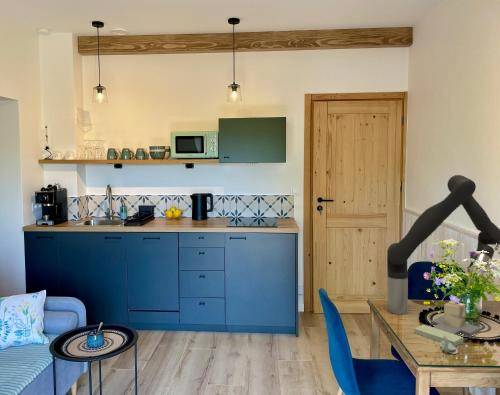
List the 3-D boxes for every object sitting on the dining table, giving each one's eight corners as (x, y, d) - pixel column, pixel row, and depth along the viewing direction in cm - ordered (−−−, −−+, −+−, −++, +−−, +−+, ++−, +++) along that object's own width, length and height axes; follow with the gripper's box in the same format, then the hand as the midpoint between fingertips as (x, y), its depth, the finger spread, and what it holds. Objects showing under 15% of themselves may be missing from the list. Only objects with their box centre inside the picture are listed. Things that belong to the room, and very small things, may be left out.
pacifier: (455, 347, 157) (439, 345, 158) (456, 332, 156) (439, 330, 158) (460, 356, 150) (442, 354, 151) (460, 340, 149) (443, 338, 151)
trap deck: (441, 320, 184) (441, 315, 183) (480, 331, 170) (480, 327, 170) (414, 333, 170) (414, 328, 170) (454, 347, 157) (454, 342, 157)
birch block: (451, 320, 178) (451, 300, 177) (464, 324, 173) (465, 304, 172) (444, 324, 174) (444, 303, 174) (458, 328, 169) (458, 307, 169)
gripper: (462, 258, 189) (448, 289, 182) (492, 263, 178) (479, 296, 172) (467, 267, 192) (454, 298, 186) (497, 272, 182) (484, 305, 175)
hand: (466, 297), depth 179 cm, fingers closed
